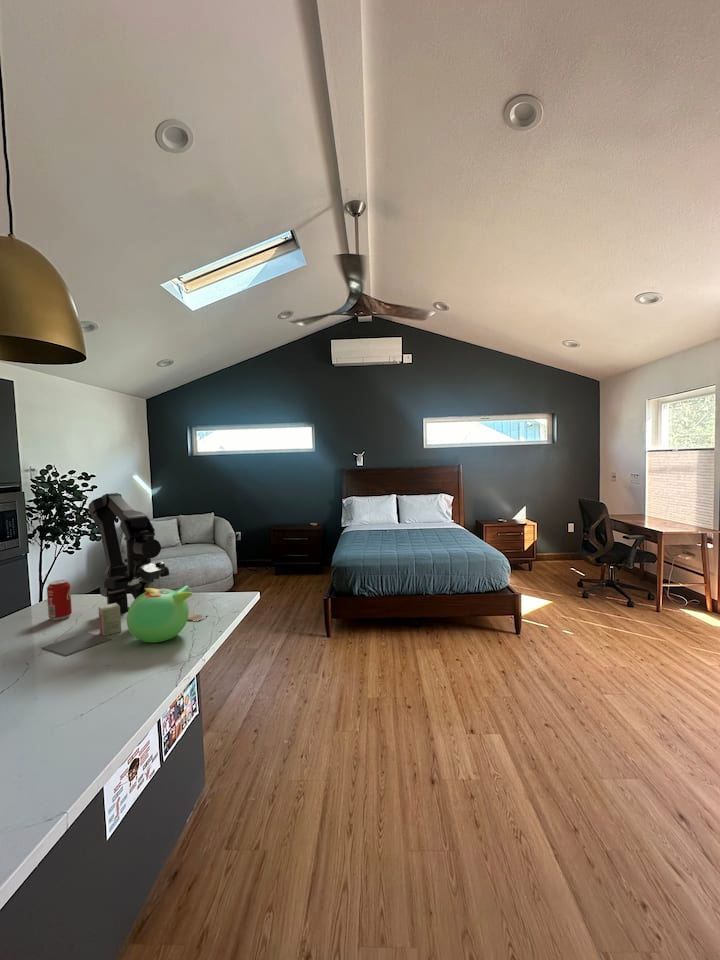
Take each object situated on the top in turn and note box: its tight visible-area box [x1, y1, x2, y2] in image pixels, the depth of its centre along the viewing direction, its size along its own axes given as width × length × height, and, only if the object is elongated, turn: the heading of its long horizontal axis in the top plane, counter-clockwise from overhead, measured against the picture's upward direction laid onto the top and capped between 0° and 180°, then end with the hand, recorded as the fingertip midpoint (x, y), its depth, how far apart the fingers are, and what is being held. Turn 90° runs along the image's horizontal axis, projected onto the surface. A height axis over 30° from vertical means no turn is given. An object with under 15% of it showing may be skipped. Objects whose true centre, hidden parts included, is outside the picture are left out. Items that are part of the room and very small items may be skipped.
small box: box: [98, 603, 122, 637], centre depth 131 cm, size 5×4×8 cm
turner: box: [188, 613, 203, 622], centre depth 141 cm, size 14×5×1 cm, turn 76°
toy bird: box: [126, 585, 193, 644], centre depth 124 cm, size 18×17×15 cm
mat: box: [41, 631, 112, 657], centre depth 122 cm, size 12×12×1 cm
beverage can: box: [46, 579, 73, 621], centre depth 145 cm, size 6×6×12 cm
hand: (139, 604), depth 139 cm, fingers closed
